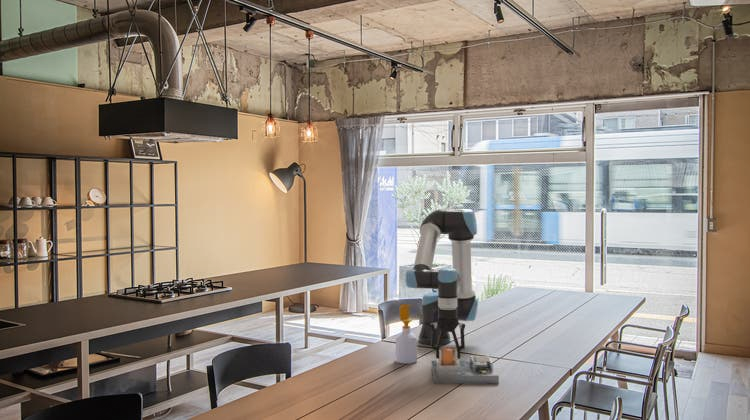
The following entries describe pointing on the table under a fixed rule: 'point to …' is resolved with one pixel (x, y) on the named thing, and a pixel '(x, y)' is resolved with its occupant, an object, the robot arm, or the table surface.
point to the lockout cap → (447, 356)
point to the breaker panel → (464, 372)
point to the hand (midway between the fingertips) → (448, 366)
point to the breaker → (481, 359)
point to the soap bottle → (406, 340)
